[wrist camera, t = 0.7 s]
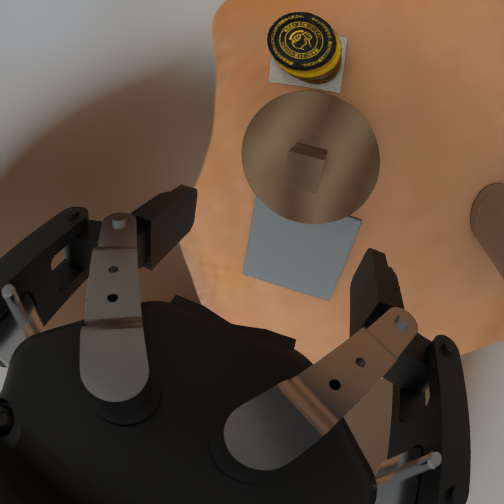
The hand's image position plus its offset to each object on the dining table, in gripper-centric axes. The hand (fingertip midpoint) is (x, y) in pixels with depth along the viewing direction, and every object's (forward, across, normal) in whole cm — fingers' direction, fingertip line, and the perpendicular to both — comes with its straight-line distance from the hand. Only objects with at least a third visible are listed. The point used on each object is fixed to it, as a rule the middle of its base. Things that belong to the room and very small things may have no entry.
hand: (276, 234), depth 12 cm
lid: (+18, 0, 0) cm, 18 cm away
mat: (+23, -2, +14) cm, 27 cm away
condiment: (+23, +3, -11) cm, 25 cm away
